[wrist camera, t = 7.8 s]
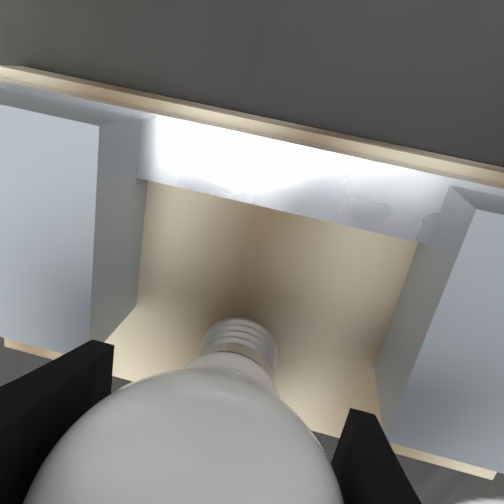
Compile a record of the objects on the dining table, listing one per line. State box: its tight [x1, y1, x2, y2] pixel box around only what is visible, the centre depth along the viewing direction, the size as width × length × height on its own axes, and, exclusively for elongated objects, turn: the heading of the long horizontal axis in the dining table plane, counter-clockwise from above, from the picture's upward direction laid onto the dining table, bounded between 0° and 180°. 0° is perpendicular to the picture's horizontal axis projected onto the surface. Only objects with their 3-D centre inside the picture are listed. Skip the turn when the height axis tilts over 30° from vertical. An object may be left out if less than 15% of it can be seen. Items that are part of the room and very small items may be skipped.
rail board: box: [0, 65, 504, 480], centre depth 15 cm, size 20×11×5 cm, turn 80°
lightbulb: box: [23, 317, 345, 504], centre depth 11 cm, size 6×6×11 cm
